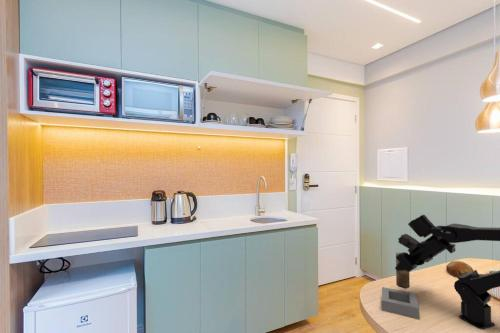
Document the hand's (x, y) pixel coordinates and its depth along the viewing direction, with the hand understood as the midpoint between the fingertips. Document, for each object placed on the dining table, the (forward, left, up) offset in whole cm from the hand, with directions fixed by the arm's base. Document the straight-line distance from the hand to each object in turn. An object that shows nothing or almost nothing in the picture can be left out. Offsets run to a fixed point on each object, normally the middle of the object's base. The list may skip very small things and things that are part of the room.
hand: (398, 267), depth 100 cm
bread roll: (+4, -40, -10) cm, 42 cm away
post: (-1, 0, -7) cm, 7 cm away
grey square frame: (-8, +9, -10) cm, 16 cm away
